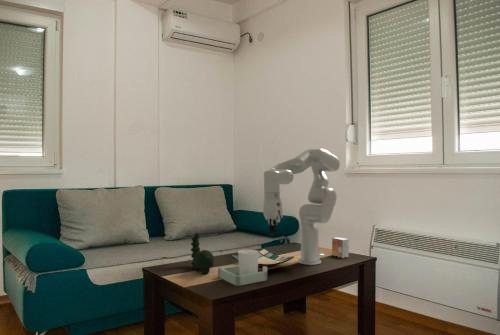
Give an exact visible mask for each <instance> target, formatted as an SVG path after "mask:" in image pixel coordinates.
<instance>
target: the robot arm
mask: <svg viewBox="0 0 500 335" xmlns="http://www.w3.org/2000/svg"><path fill="white" fill-rule="evenodd" d="M340 165H341V162H340V160H339V158H338V157H337V156H336V155H334V154H332V152H330V151H329V150H326V149H324V148H309V149H306V150H304V151H303V152H301V153H299V155H296V156H295V157H293V158H291V159H288V160H286V161H283V162H280V163H278V164H276V165H274V166H273V167H271V168H270V169H269V170H265V171H263V172H264V173H263V191H264V192H263V195H264V198H263V199H264V200H263V217H264V218H265V220H266V221H267V224H268V232H269V234H276V233H277V225H278V223H280V222H281V219H283V205H282V200H281V198H280V192H281V190H280V185H289V184H291V183H292V182H293V180H294V178H295V177H294V175H297V174H300V173H303V172H305V171H306V170H307V169H309V168H310V167H311V170H312V173H313V181H312V184H311V187H310V189H309V192H308V195H307V200H308V202H309V203H307V204H306V203H305V204H303V205H301V206H300V207H299V211H298V216H299V220H300V221H299V222H300V258H298V259H297V262H298V263H299V264H300V265H301V264H302V265H306V266H307V265H309V266H314V265H321V263H322V260H321V258H324V257H325V253H319V234H320V233H319V232H320V231H319V227H318V225H317V224H327V223H328V222H330V219H331V217H332V214H333V211H334V209H335V205H336V202H337V192H336V190H335V189H334V188H332V187H329V184H330V183H329V178H328V176H327V174H326V172H336V171H338V170H339V169H340Z"/></svg>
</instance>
